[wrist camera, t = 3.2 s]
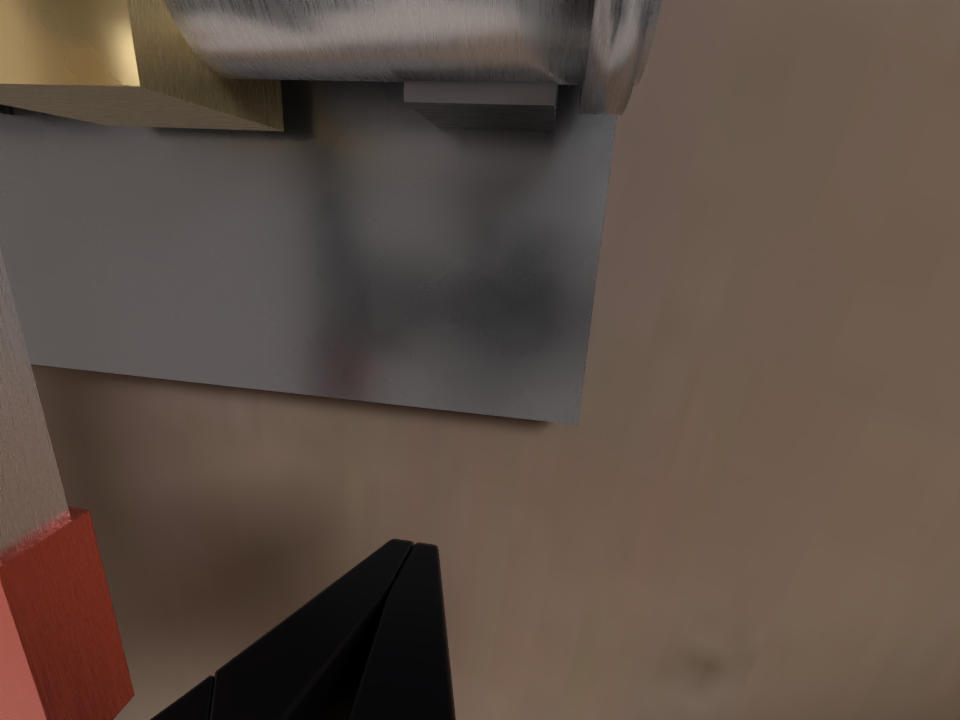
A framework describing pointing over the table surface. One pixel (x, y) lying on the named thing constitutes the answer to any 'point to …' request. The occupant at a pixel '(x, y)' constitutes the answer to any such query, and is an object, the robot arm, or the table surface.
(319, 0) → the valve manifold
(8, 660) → the lever
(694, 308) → the table surface
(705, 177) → the table surface
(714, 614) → the table surface
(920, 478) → the table surface
